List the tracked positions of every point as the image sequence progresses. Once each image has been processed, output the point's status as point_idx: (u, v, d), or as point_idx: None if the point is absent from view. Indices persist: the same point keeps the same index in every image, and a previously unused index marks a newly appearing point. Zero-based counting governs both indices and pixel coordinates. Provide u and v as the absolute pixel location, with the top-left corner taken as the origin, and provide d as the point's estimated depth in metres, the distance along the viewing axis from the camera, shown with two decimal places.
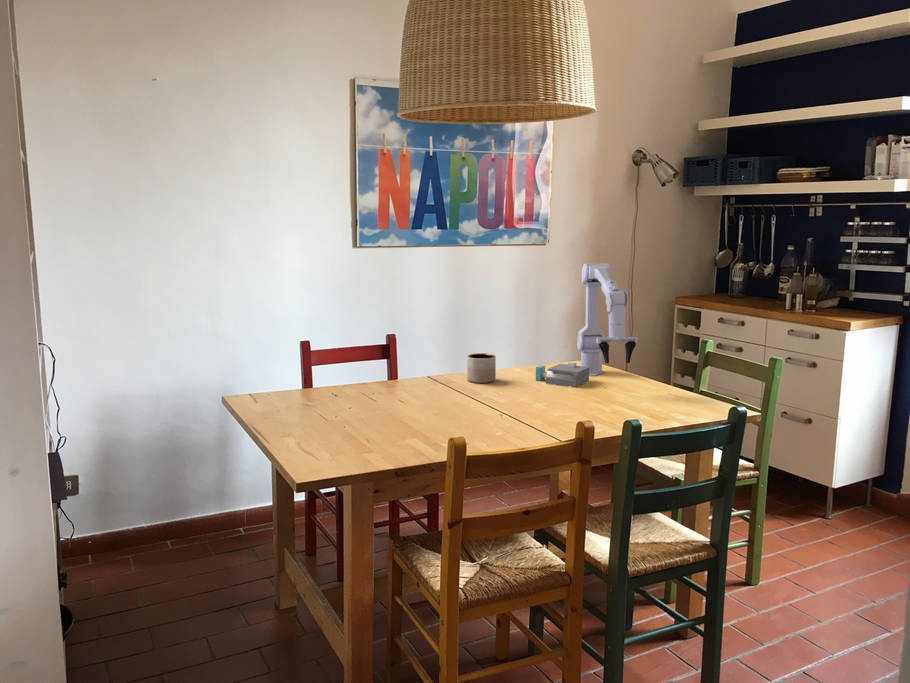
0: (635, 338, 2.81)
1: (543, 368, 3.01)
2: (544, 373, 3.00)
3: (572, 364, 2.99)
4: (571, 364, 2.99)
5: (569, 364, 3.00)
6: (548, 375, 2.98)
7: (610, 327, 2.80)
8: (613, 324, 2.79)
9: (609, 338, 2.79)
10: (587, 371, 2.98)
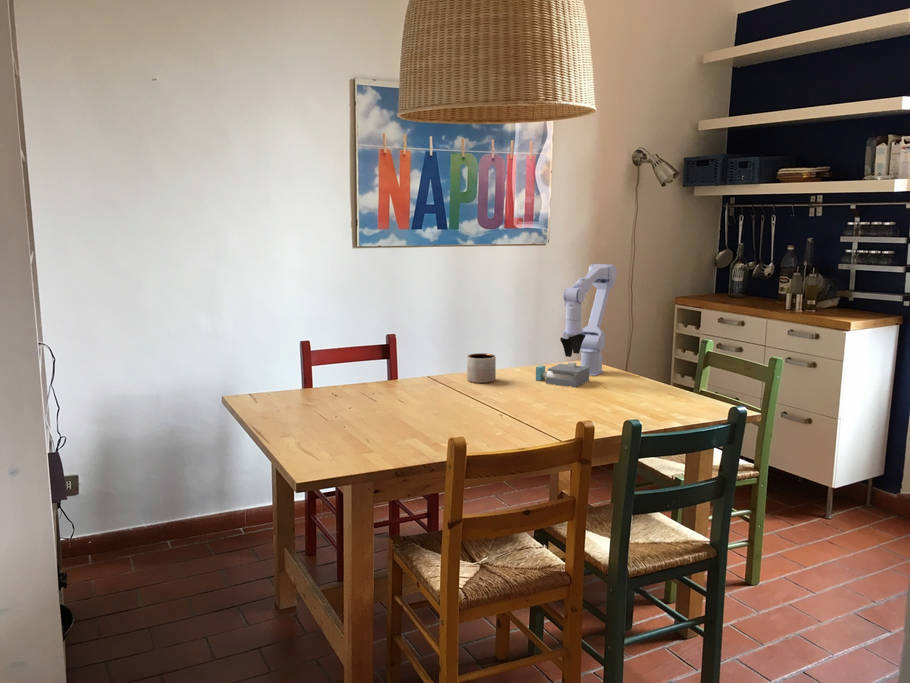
0: None
1: (543, 368, 3.01)
2: (544, 373, 3.00)
3: (572, 364, 2.99)
4: (571, 364, 2.99)
5: (569, 364, 3.00)
6: (548, 375, 2.98)
7: None
8: None
9: None
10: (587, 371, 2.98)
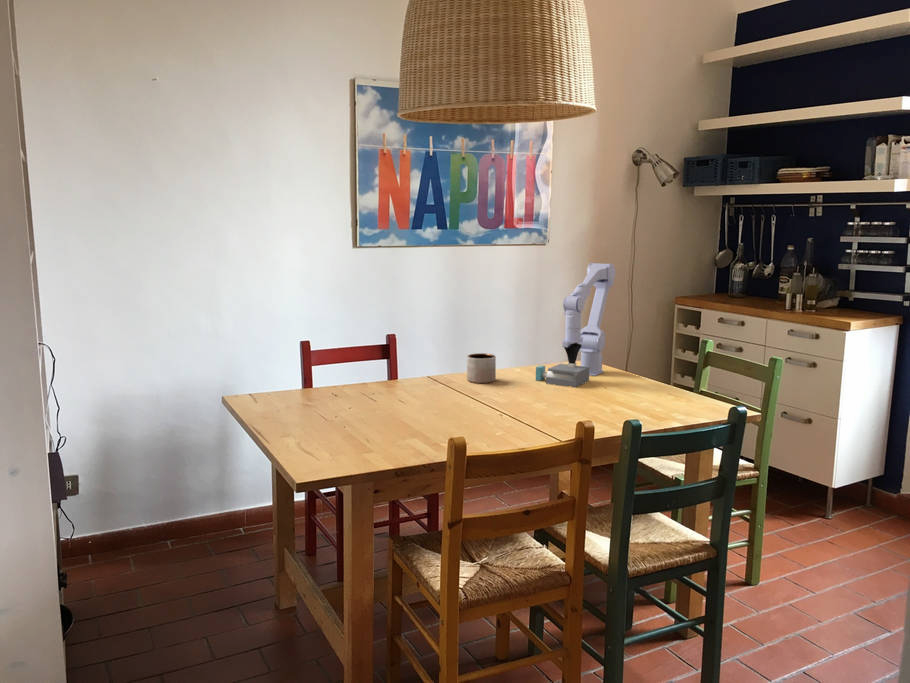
0: None
1: (543, 368, 3.01)
2: (544, 373, 3.00)
3: (572, 364, 2.99)
4: (571, 364, 2.99)
5: (569, 364, 3.00)
6: (548, 375, 2.98)
7: None
8: None
9: None
10: (587, 371, 2.98)
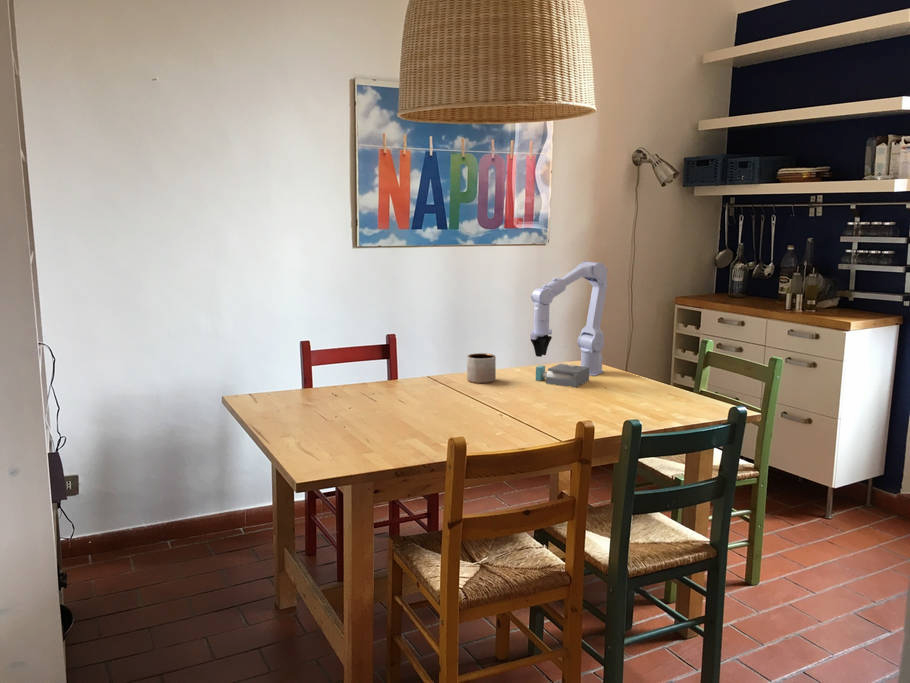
0: None
1: (543, 368, 3.01)
2: (544, 373, 3.00)
3: None
4: None
5: None
6: (548, 375, 2.98)
7: None
8: None
9: None
10: (587, 371, 2.98)
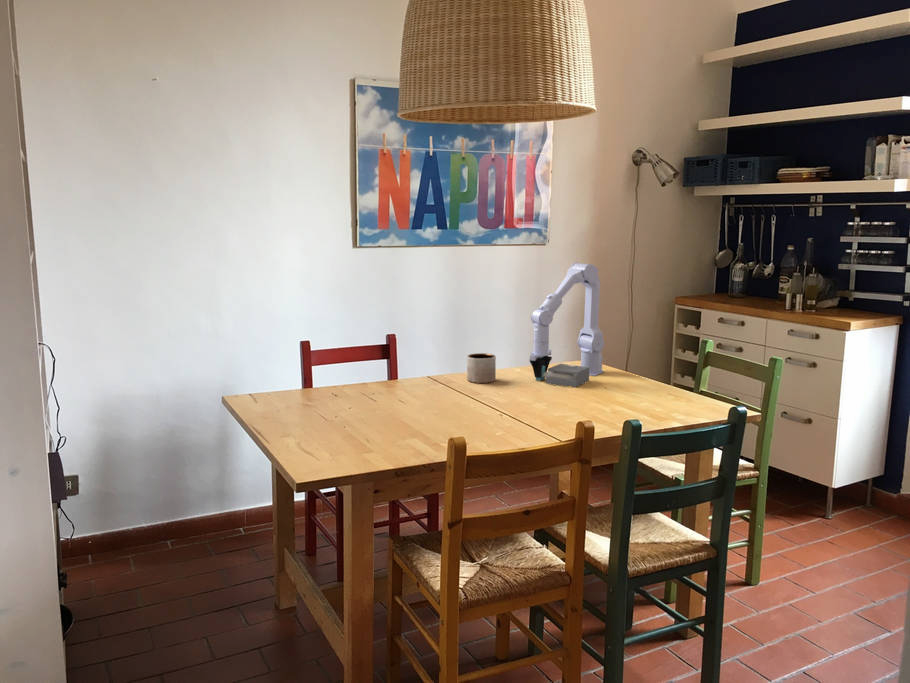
0: None
1: (543, 368, 3.01)
2: (544, 373, 3.00)
3: None
4: None
5: None
6: (548, 375, 2.98)
7: None
8: None
9: None
10: (587, 371, 2.98)
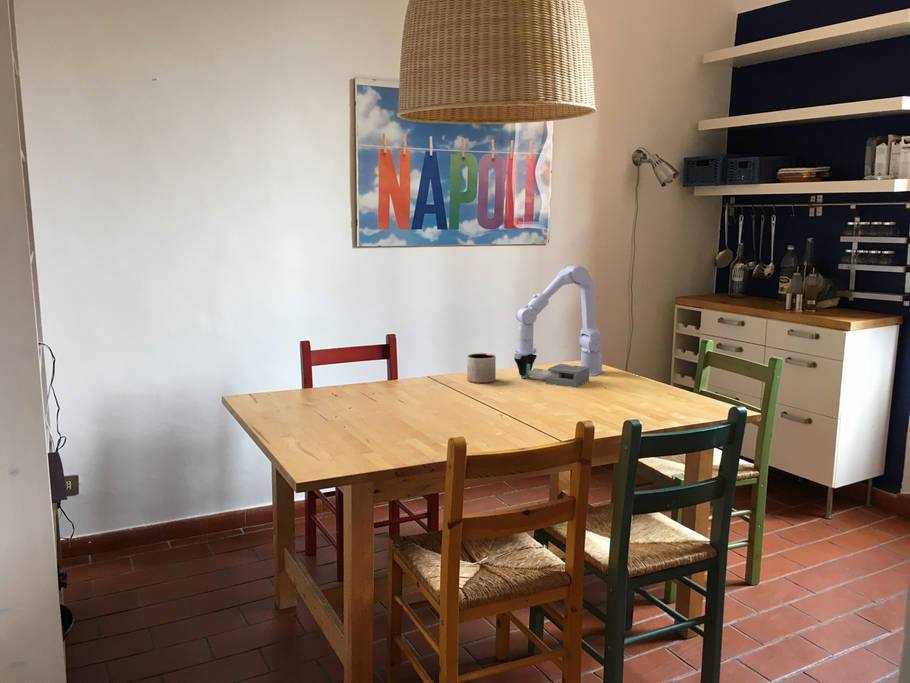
0: None
1: (528, 366, 3.05)
2: (529, 371, 3.03)
3: None
4: None
5: None
6: (533, 373, 3.01)
7: None
8: None
9: None
10: (587, 371, 2.98)
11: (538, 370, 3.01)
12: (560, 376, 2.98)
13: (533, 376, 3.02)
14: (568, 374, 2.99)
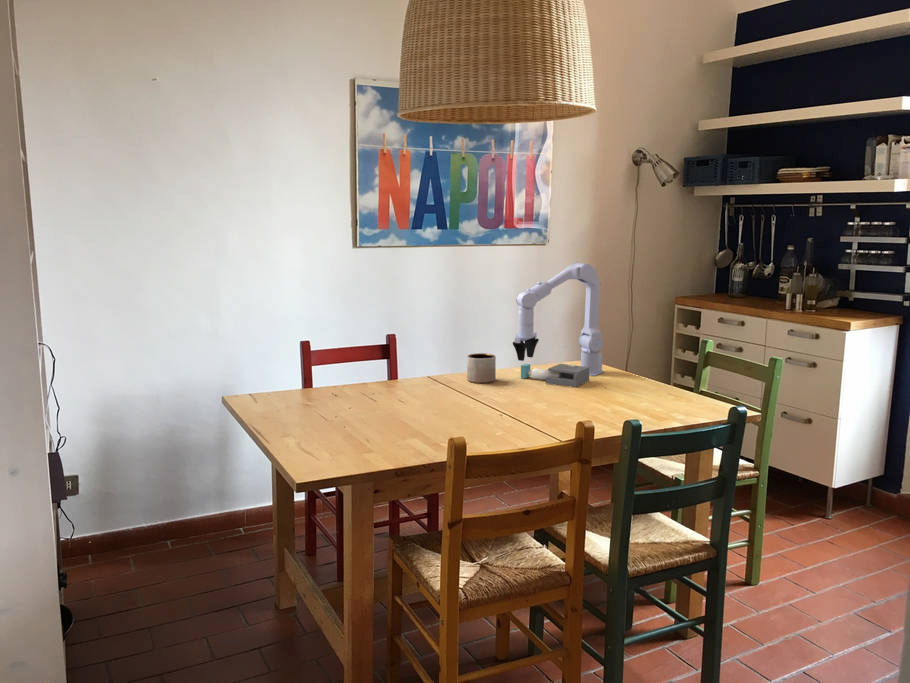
0: None
1: (528, 366, 3.05)
2: (529, 371, 3.03)
3: None
4: None
5: None
6: (533, 373, 3.01)
7: None
8: None
9: None
10: (587, 371, 2.98)
11: (538, 370, 3.01)
12: (560, 376, 2.98)
13: (533, 376, 3.02)
14: (568, 374, 2.99)
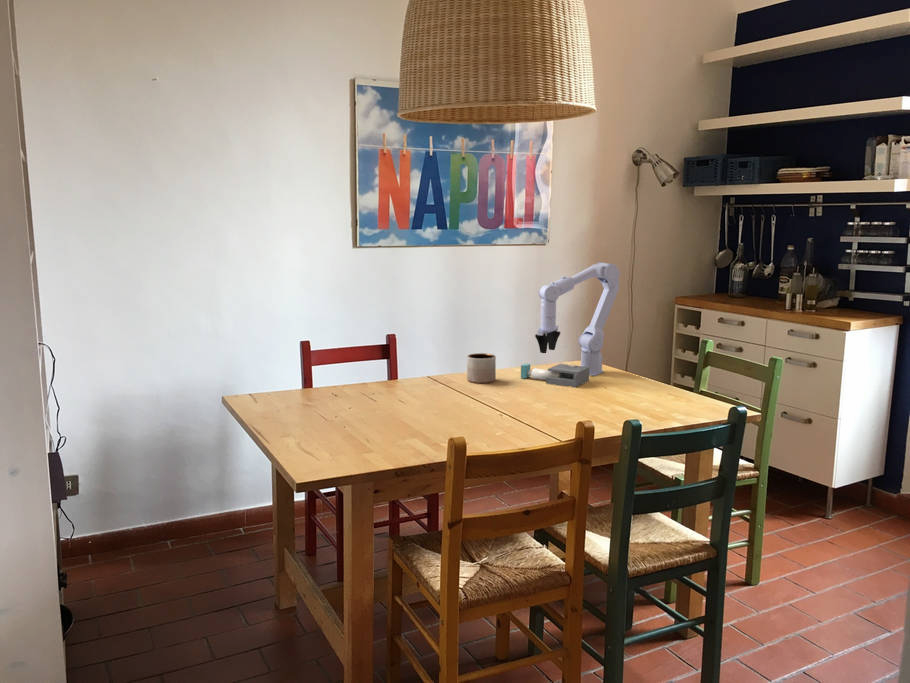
0: None
1: (528, 366, 3.05)
2: (529, 371, 3.03)
3: None
4: None
5: None
6: (533, 373, 3.01)
7: None
8: None
9: None
10: (587, 371, 2.98)
11: (538, 370, 3.01)
12: (560, 376, 2.98)
13: (533, 376, 3.02)
14: (568, 374, 2.99)
